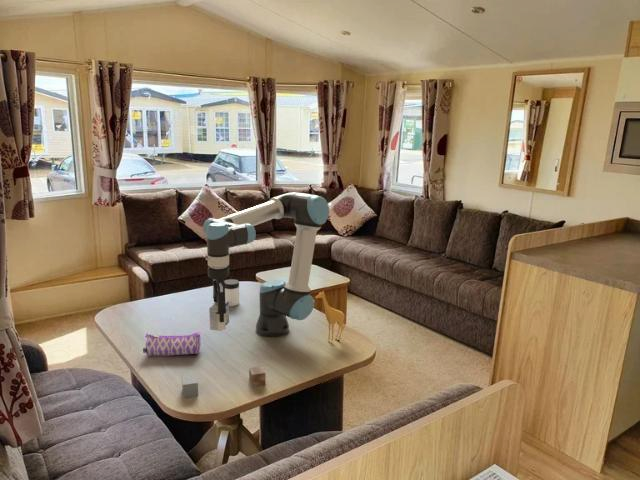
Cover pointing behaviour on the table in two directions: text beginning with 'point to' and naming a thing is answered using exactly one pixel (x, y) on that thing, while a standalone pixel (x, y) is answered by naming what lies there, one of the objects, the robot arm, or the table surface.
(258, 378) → the walnut block
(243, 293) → the table surface
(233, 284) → the jar
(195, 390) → the slate grey block
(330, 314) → the giraffe
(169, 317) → the table surface
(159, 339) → the pencil case
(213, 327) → the medicine box
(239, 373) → the table surface
